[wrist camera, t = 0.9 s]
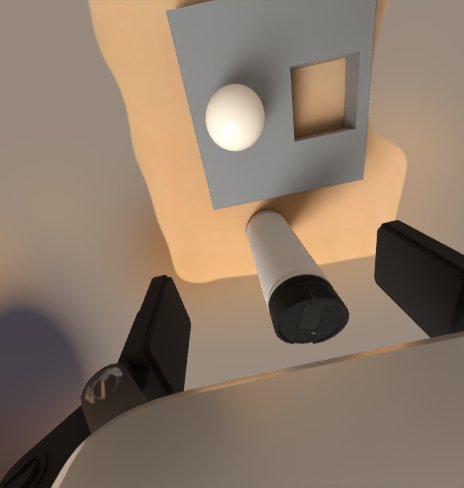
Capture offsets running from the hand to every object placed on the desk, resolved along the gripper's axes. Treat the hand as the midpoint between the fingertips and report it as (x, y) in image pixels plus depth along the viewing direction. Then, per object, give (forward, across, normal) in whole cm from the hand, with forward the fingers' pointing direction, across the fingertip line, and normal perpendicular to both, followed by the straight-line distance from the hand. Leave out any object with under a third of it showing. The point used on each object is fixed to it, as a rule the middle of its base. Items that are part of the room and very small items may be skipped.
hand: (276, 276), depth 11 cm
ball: (+18, -1, -6) cm, 19 cm away
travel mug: (+25, -3, +9) cm, 27 cm away
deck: (+24, -7, -6) cm, 26 cm away
